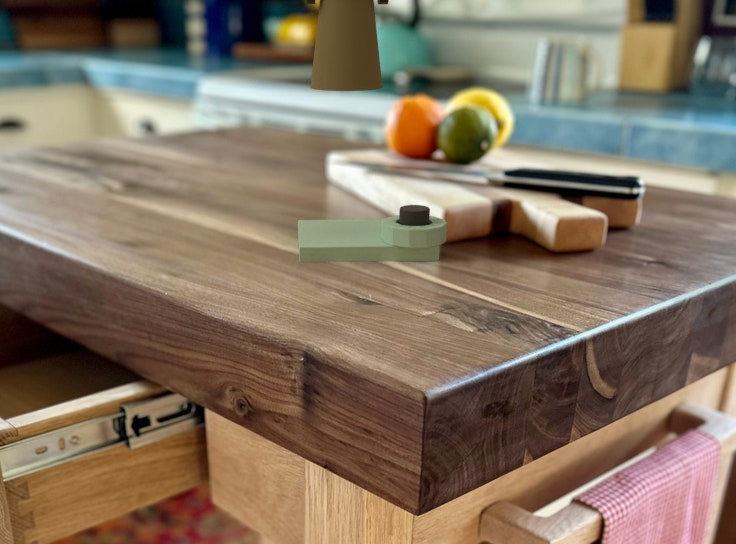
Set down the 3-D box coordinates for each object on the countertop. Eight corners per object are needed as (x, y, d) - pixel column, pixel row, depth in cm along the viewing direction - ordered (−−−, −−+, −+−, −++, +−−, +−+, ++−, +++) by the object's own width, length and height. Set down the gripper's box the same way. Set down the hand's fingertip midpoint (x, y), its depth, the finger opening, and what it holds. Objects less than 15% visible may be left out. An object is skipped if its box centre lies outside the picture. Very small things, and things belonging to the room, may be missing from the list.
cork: (295, 87, 73) (292, -61, 69) (350, 83, 77) (350, -58, 72) (342, 92, 69) (342, -65, 64) (397, 87, 73) (401, -62, 68)
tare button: (426, 222, 77) (427, 204, 76) (431, 229, 74) (432, 211, 74) (397, 222, 77) (397, 204, 76) (400, 229, 74) (401, 211, 74)
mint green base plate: (430, 232, 84) (431, 201, 83) (449, 263, 74) (451, 228, 73) (298, 234, 83) (297, 203, 82) (299, 265, 74) (299, 230, 72)
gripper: (246, -269, 59) (256, 4, 67) (455, -266, 60) (442, 4, 67) (250, -241, 66) (259, 4, 73) (437, -239, 67) (428, 4, 74)
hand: (347, 3), depth 70 cm, fingers closed on cork, 5 cm apart
